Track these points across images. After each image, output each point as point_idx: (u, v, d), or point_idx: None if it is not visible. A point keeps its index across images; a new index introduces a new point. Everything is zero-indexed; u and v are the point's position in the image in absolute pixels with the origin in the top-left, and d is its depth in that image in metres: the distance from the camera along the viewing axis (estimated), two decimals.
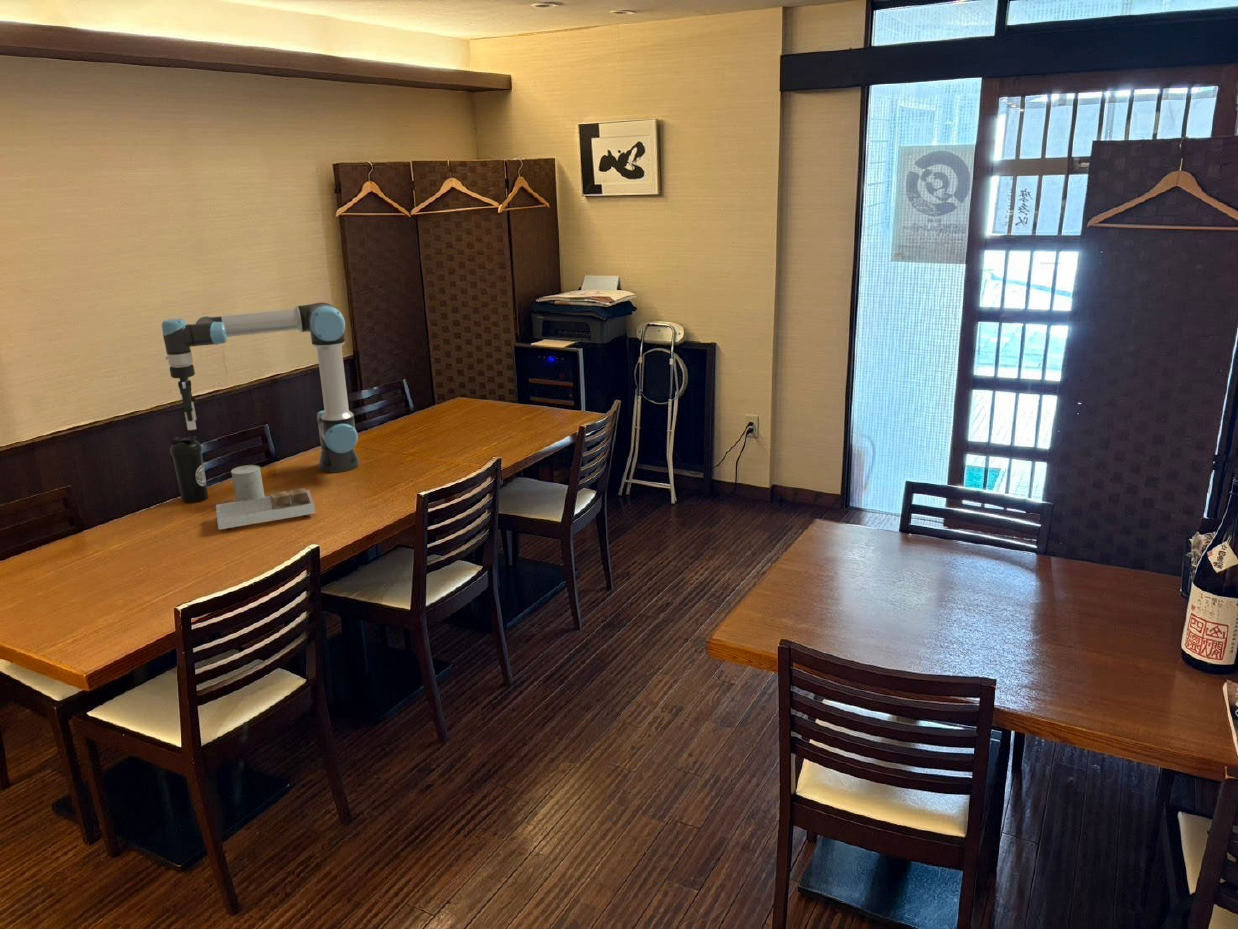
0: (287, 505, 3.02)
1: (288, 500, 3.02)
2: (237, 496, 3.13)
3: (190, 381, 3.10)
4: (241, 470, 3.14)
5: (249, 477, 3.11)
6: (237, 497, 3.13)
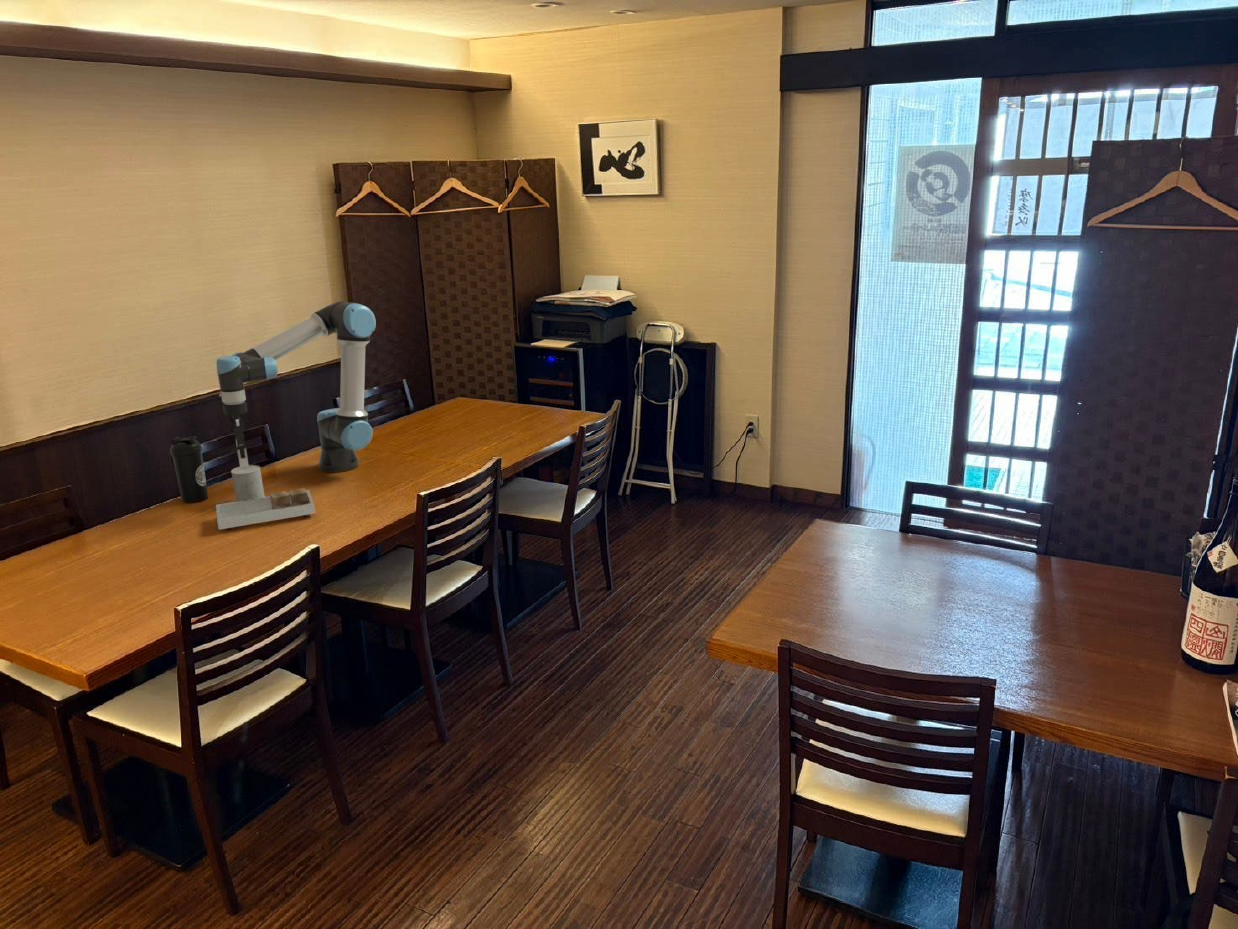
0: (287, 505, 3.02)
1: (288, 500, 3.02)
2: (237, 496, 3.13)
3: (242, 418, 3.09)
4: (241, 470, 3.14)
5: (249, 477, 3.11)
6: (237, 497, 3.13)
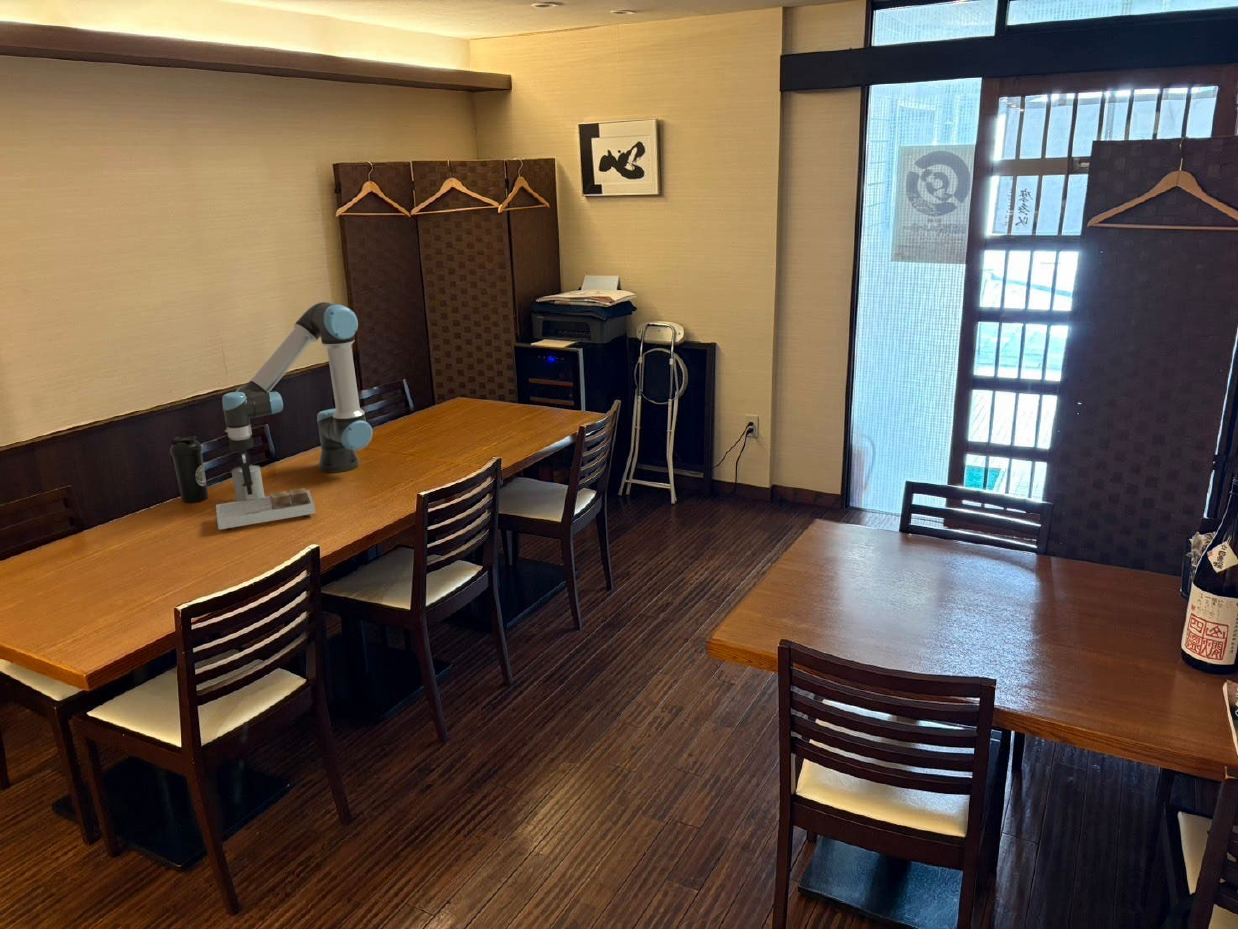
0: (287, 505, 3.02)
1: (288, 500, 3.02)
2: (237, 496, 3.13)
3: (248, 452, 3.13)
4: (241, 470, 3.14)
5: None
6: (237, 497, 3.13)
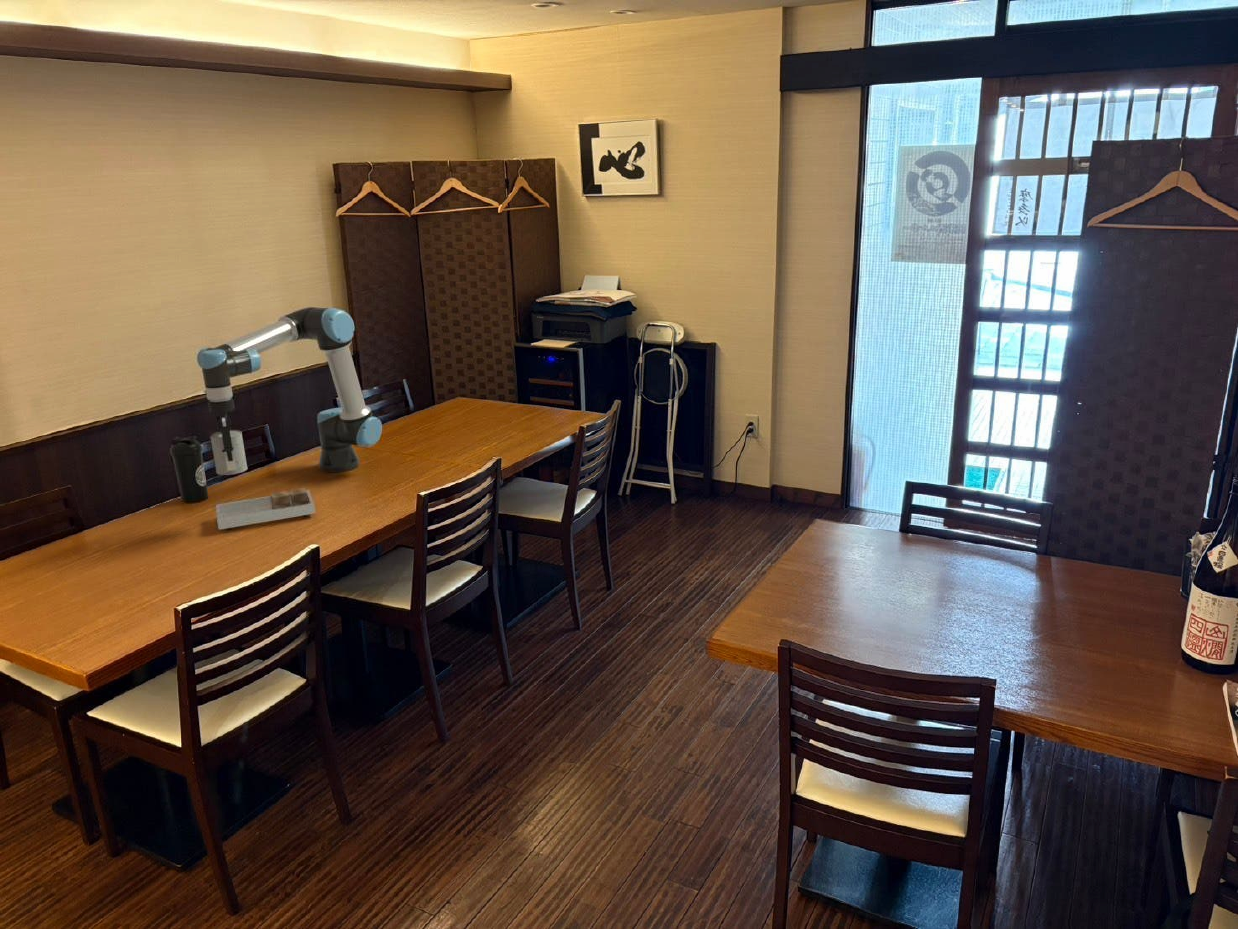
0: (287, 505, 3.02)
1: (288, 500, 3.02)
2: (216, 463, 2.89)
3: (229, 415, 2.90)
4: (221, 435, 2.90)
5: None
6: (216, 464, 2.90)
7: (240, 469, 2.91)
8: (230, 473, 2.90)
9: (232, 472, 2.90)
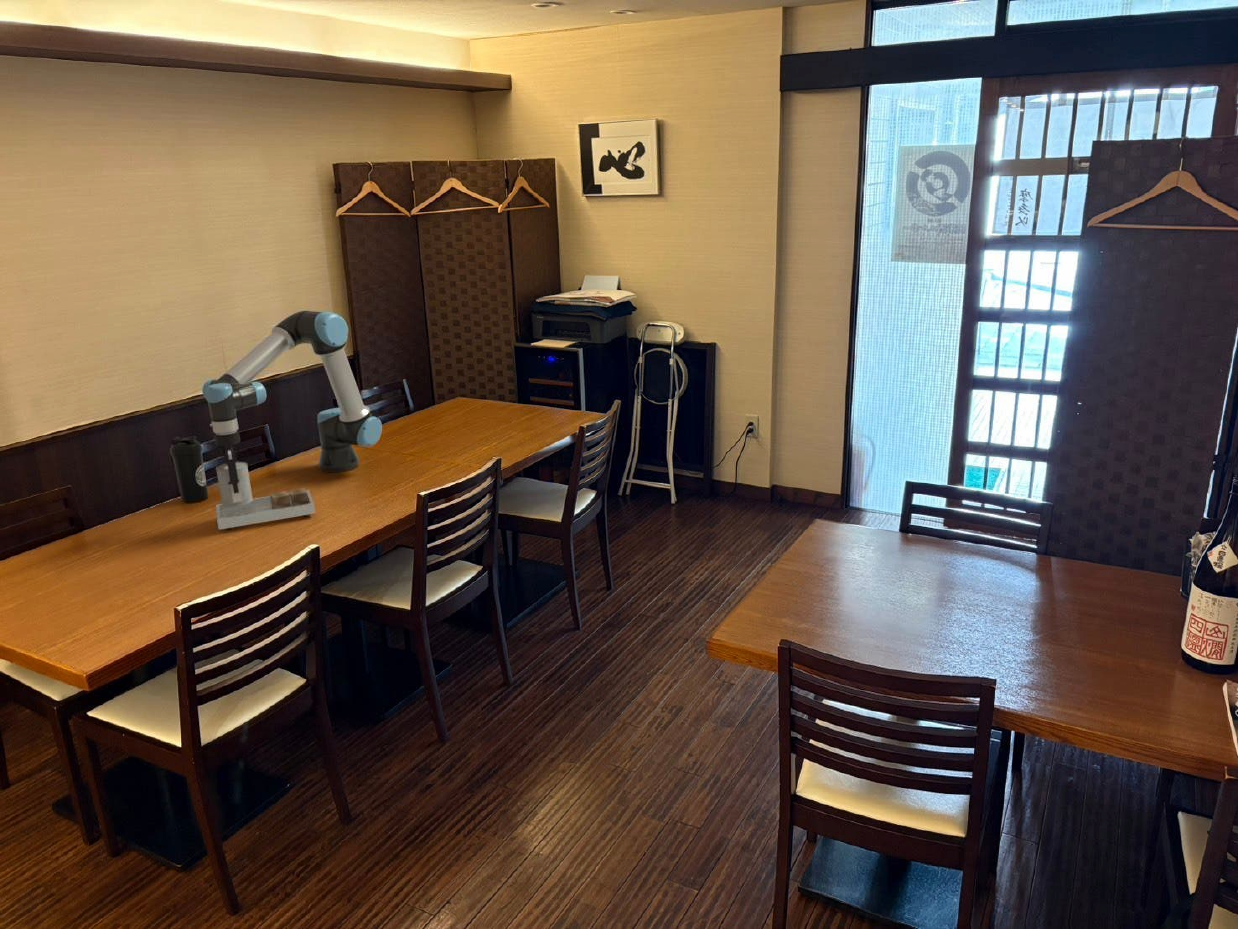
0: (287, 505, 3.02)
1: (288, 500, 3.02)
2: (222, 495, 2.93)
3: (235, 448, 2.93)
4: (227, 467, 2.93)
5: None
6: (222, 496, 2.93)
7: (245, 500, 2.94)
8: (236, 505, 2.93)
9: (237, 504, 2.93)
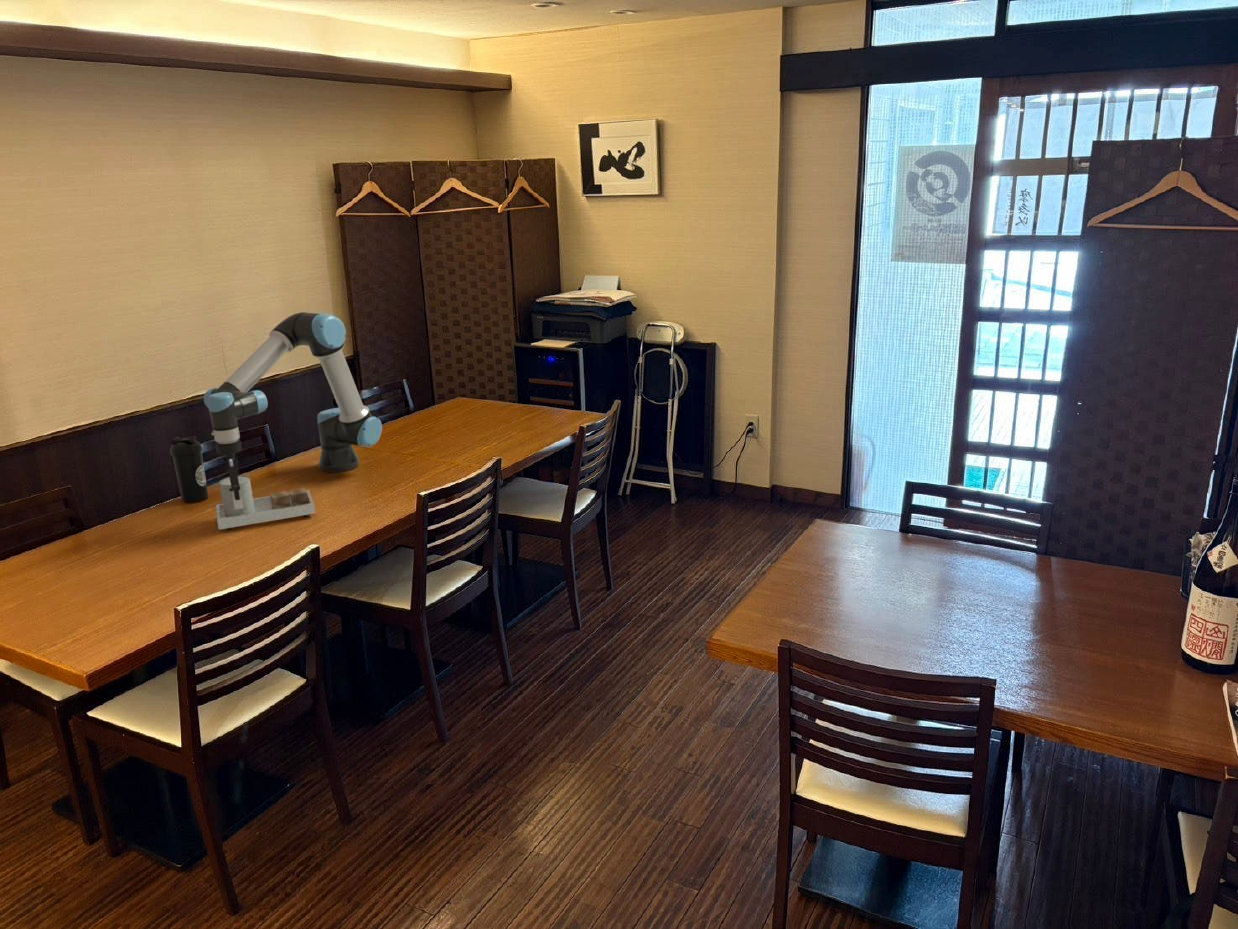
0: (287, 505, 3.02)
1: (288, 500, 3.02)
2: (225, 509, 2.94)
3: (236, 457, 2.94)
4: (229, 481, 2.95)
5: None
6: (225, 510, 2.95)
7: None
8: None
9: None
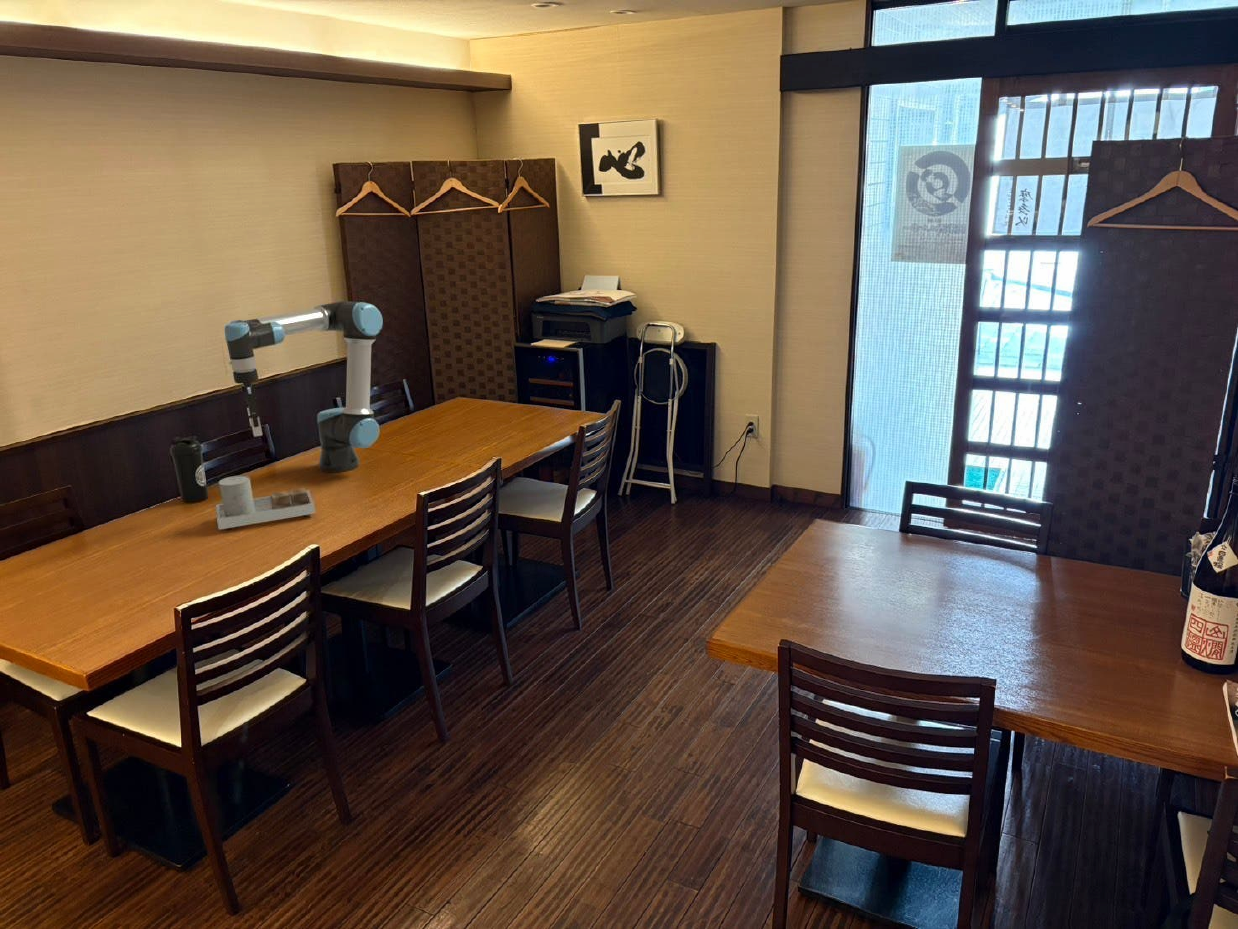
0: (287, 505, 3.02)
1: (288, 500, 3.02)
2: (225, 509, 2.94)
3: (253, 386, 3.02)
4: (229, 481, 2.95)
5: (238, 489, 2.92)
6: (225, 510, 2.95)
7: None
8: None
9: None
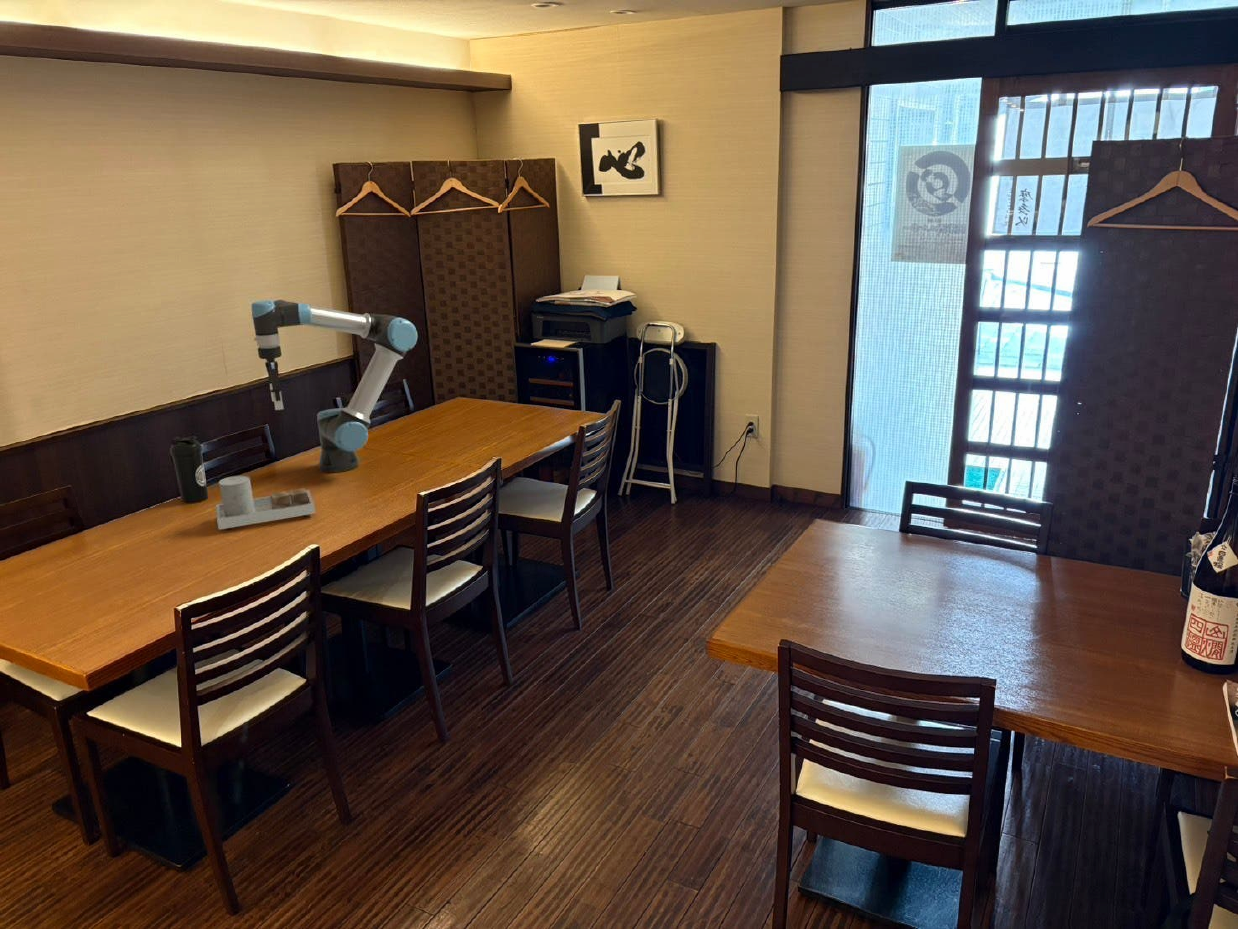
0: (287, 505, 3.02)
1: (288, 500, 3.02)
2: (225, 509, 2.94)
3: None
4: (229, 481, 2.95)
5: (238, 489, 2.92)
6: (225, 510, 2.95)
7: None
8: None
9: None
